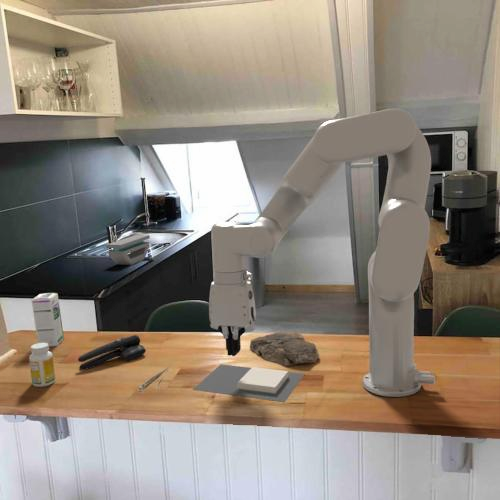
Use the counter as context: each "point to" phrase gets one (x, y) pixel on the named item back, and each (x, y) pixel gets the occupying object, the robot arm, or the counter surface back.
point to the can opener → (114, 352)
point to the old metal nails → (151, 381)
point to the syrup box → (48, 319)
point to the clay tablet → (285, 348)
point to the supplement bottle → (41, 365)
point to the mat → (229, 376)
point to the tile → (263, 380)
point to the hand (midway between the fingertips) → (233, 353)
